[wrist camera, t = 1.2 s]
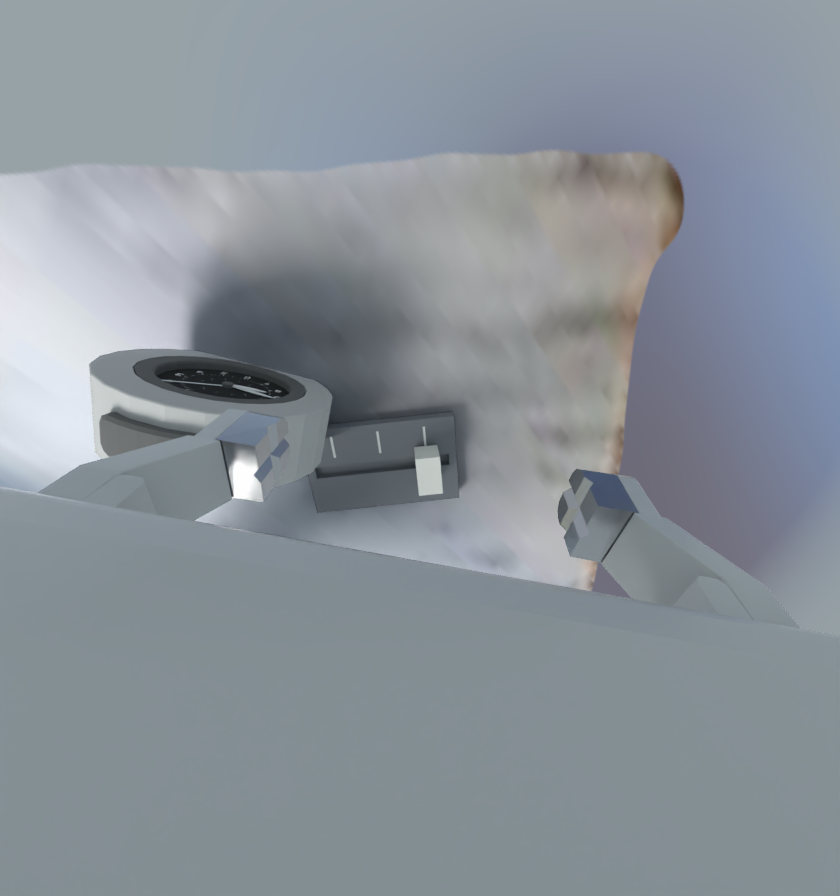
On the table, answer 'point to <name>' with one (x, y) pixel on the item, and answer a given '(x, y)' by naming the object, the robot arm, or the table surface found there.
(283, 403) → the alarm clock
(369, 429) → the fader deck
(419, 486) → the fader knob
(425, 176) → the table surface
